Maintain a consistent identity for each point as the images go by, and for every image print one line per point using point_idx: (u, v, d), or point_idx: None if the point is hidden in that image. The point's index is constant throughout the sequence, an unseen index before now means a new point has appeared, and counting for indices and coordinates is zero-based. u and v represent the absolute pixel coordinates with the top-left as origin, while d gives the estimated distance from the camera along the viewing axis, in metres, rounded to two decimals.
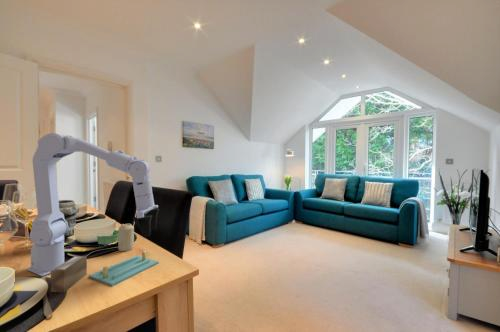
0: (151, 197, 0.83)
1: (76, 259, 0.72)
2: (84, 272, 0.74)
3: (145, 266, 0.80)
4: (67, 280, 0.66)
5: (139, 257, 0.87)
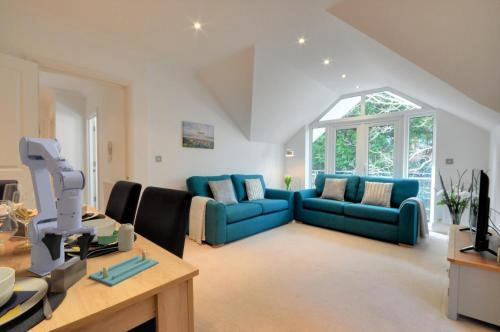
0: (59, 219, 0.67)
1: (76, 259, 0.72)
2: (84, 272, 0.74)
3: (145, 266, 0.80)
4: (67, 280, 0.66)
5: (139, 257, 0.87)
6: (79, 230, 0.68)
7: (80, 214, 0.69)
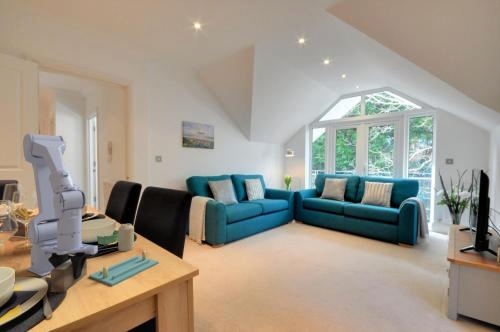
0: (59, 239, 0.67)
1: None
2: (84, 272, 0.74)
3: (145, 266, 0.80)
4: (67, 280, 0.66)
5: (139, 257, 0.87)
6: (79, 250, 0.68)
7: (80, 234, 0.70)
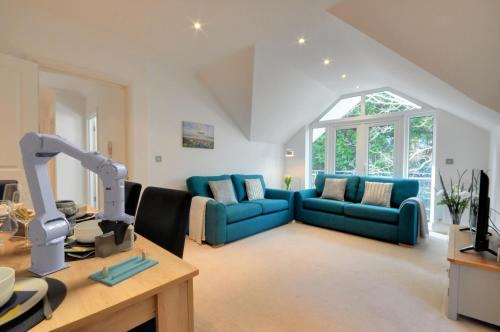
0: (104, 206, 0.74)
1: None
2: (128, 244, 0.79)
3: (145, 266, 0.80)
4: (107, 248, 0.72)
5: (139, 257, 0.87)
6: (118, 218, 0.73)
7: (121, 203, 0.75)
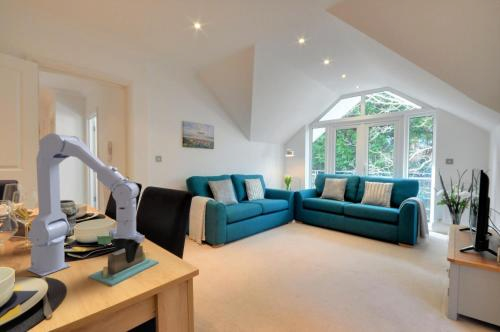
0: (116, 224, 0.76)
1: None
2: (139, 260, 0.81)
3: (145, 266, 0.80)
4: (118, 265, 0.74)
5: None
6: (129, 237, 0.75)
7: (132, 222, 0.77)
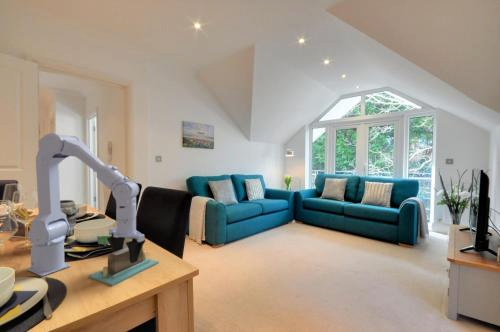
0: (116, 223, 0.76)
1: None
2: (139, 260, 0.81)
3: (145, 266, 0.80)
4: (118, 265, 0.74)
5: None
6: (129, 236, 0.75)
7: (132, 221, 0.77)
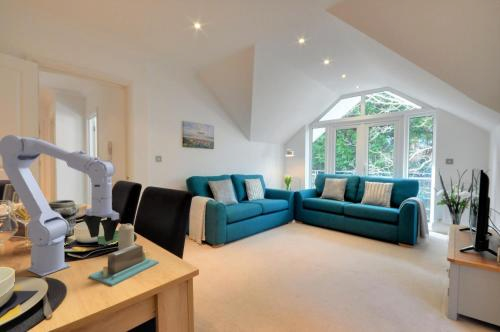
0: (91, 202, 0.77)
1: (132, 247, 0.80)
2: (139, 260, 0.81)
3: (145, 266, 0.80)
4: (118, 265, 0.74)
5: None
6: (103, 214, 0.75)
7: (107, 200, 0.77)
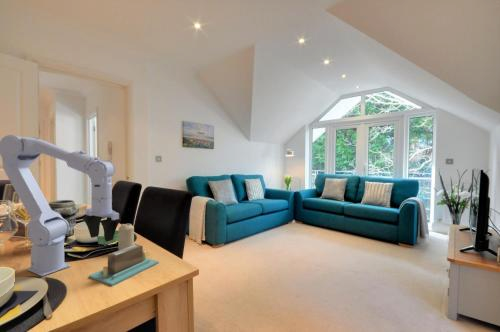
0: (91, 202, 0.77)
1: (132, 247, 0.80)
2: (139, 260, 0.81)
3: (145, 266, 0.80)
4: (118, 265, 0.74)
5: None
6: (103, 214, 0.75)
7: (107, 200, 0.77)
